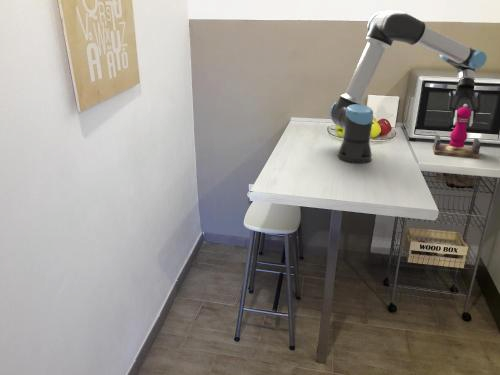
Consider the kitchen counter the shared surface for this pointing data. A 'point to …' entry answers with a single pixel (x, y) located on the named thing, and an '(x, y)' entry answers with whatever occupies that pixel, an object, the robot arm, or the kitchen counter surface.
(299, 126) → the kitchen counter surface
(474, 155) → the level stand
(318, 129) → the kitchen counter surface
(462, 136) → the pepper mill
